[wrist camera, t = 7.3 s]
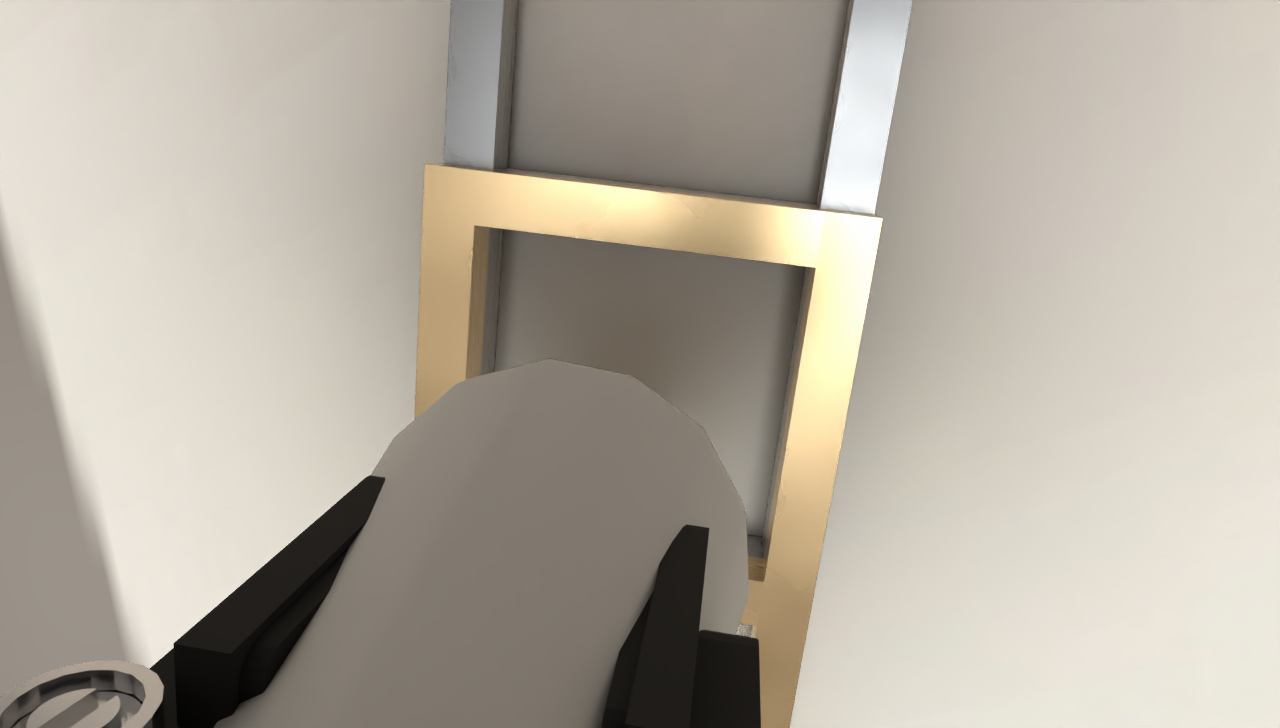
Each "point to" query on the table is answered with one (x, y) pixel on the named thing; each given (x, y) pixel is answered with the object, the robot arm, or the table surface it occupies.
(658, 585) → the robot arm
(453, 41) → the grey rectangular frame
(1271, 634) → the table surface
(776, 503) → the gold rectangular frame
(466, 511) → the salt shaker
